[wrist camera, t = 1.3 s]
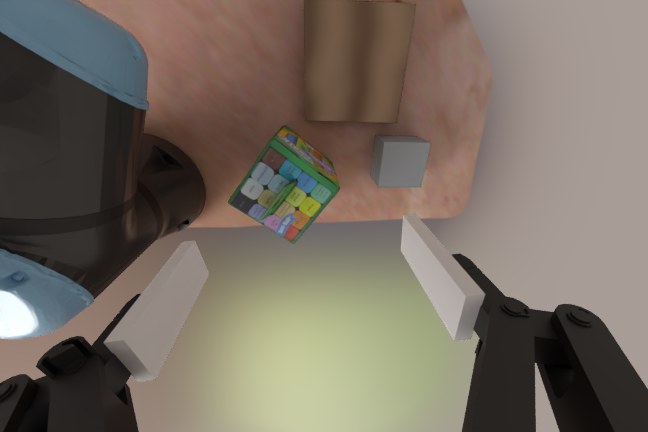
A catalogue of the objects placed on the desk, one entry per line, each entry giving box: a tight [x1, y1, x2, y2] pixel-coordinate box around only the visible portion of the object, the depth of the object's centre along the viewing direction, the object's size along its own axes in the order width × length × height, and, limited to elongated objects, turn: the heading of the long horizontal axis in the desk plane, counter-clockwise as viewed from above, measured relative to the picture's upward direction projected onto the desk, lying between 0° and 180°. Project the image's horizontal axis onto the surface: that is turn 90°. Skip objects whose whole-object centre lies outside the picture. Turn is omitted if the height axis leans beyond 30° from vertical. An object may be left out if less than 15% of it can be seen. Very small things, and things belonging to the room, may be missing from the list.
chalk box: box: [228, 126, 340, 244], centre depth 29 cm, size 9×9×15 cm
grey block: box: [371, 135, 431, 187], centre depth 34 cm, size 6×6×5 cm
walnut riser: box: [304, 0, 416, 123], centre depth 29 cm, size 12×12×2 cm
